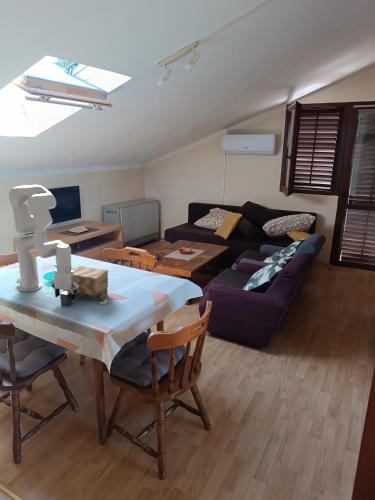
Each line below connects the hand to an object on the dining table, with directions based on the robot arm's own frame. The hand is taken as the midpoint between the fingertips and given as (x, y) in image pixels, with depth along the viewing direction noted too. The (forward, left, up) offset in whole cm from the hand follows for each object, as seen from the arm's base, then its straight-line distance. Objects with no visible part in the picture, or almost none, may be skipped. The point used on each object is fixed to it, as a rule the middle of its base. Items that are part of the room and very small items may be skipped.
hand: (65, 297), depth 192 cm
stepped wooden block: (+6, +13, -4) cm, 14 cm away
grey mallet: (+1, +4, -4) cm, 6 cm away
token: (+18, +9, -4) cm, 20 cm away
